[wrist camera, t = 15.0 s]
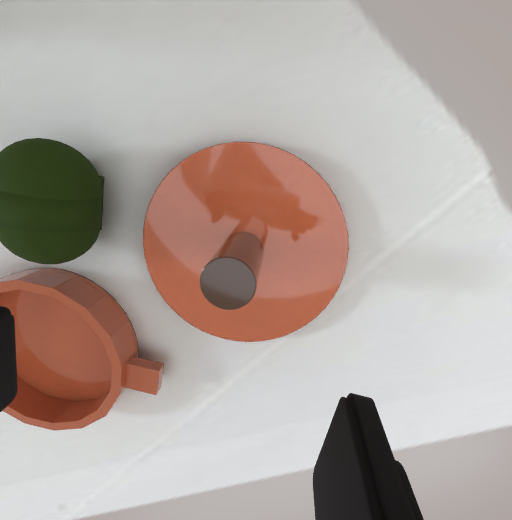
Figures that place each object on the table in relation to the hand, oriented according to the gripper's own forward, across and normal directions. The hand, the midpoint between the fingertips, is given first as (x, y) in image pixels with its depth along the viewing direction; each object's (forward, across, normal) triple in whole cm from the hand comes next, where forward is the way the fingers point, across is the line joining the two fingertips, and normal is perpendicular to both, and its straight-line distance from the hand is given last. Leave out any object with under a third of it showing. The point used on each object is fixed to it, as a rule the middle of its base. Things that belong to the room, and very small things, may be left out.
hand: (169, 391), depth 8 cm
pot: (+15, +14, +12) cm, 24 cm away
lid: (+14, 0, 0) cm, 14 cm away
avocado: (+15, +13, -1) cm, 20 cm away
